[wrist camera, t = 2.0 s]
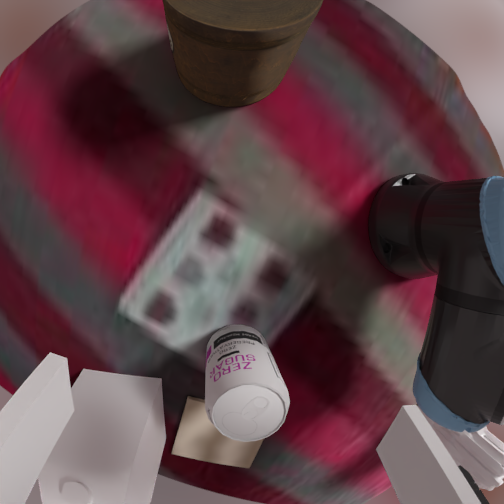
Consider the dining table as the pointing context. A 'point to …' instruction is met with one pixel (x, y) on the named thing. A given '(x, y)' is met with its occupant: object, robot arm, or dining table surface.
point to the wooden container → (236, 45)
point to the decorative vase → (474, 453)
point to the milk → (107, 442)
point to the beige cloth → (210, 439)
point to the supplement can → (243, 385)
